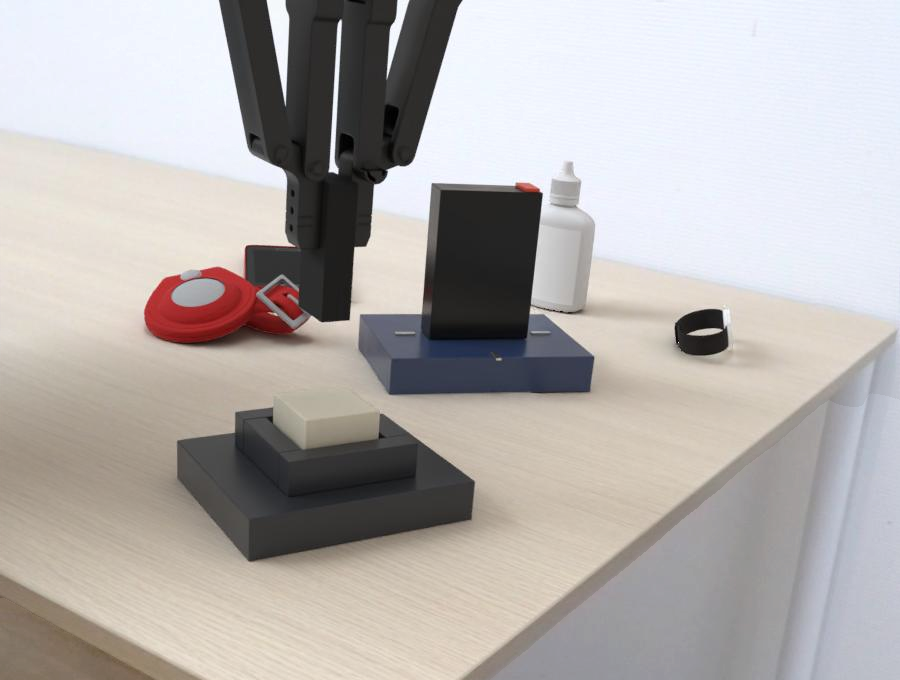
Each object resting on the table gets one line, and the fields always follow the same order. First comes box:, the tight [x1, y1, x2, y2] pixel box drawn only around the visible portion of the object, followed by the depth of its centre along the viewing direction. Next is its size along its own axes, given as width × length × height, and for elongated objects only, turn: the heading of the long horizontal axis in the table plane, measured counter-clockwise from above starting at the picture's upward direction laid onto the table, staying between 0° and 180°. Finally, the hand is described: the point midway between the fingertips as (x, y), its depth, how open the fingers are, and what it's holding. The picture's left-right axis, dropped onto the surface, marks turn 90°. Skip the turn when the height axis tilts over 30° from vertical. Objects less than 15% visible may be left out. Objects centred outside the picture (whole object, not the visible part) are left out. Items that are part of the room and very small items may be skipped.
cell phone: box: [243, 244, 301, 289], centre depth 100 cm, size 8×15×1 cm, turn 9°
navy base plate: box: [357, 313, 595, 396], centre depth 81 cm, size 14×11×3 cm
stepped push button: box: [176, 406, 476, 563], centre depth 60 cm, size 12×10×4 cm
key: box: [272, 384, 381, 450], centre depth 59 cm, size 4×4×2 cm
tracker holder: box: [143, 266, 313, 344], centre depth 86 cm, size 12×4×10 cm
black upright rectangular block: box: [421, 181, 544, 339], centre depth 79 cm, size 7×2×10 cm, turn 106°
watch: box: [673, 304, 735, 357], centre depth 90 cm, size 8×5×4 cm, turn 170°
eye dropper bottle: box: [531, 160, 596, 313], centre depth 97 cm, size 4×6×12 cm
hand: (323, 312), depth 57 cm, fingers closed
